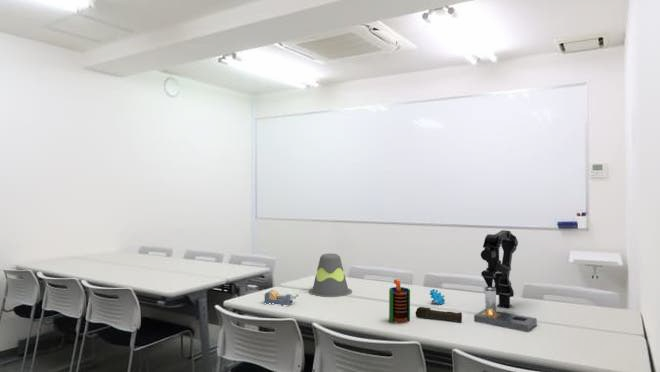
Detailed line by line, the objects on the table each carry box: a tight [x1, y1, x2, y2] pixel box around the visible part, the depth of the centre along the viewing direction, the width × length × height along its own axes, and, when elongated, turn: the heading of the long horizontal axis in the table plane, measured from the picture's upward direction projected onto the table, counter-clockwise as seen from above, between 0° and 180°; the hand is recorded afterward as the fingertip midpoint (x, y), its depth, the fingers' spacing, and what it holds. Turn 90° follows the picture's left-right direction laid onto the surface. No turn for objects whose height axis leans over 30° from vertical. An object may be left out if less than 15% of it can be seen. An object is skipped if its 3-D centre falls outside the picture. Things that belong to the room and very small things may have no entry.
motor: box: [388, 278, 411, 324], centre depth 213 cm, size 10×9×20 cm
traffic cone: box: [308, 253, 353, 298], centre depth 275 cm, size 28×28×24 cm
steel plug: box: [484, 286, 497, 315], centre depth 212 cm, size 5×5×13 cm
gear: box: [429, 288, 446, 306], centre depth 246 cm, size 11×6×10 cm
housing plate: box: [473, 309, 538, 333], centre depth 208 cm, size 14×25×3 cm, turn 49°
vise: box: [264, 289, 299, 306], centre depth 247 cm, size 18×10×7 cm, turn 72°
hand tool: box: [415, 306, 463, 324], centre depth 215 cm, size 23×5×6 cm, turn 65°
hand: (493, 288), depth 226 cm, fingers open, 9 cm apart
